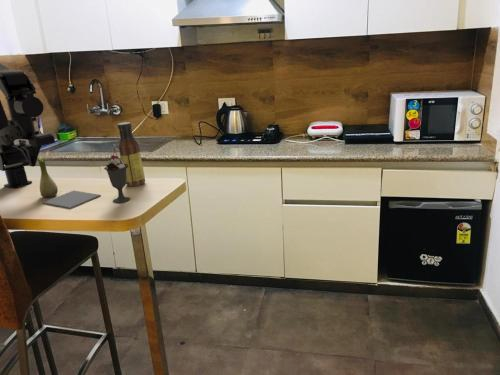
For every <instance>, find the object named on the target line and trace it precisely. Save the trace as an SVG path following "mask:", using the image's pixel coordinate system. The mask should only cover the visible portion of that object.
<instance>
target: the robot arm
mask: <svg viewBox="0 0 500 375" xmlns="http://www.w3.org/2000/svg"><path fill="white" fill-rule="evenodd" d="M0 91H1V92H2V94H3V95H4V96H5V98H4V99H5V100H6V104H7V108H8V112H9V117H10V119H9V118H8V116H7V114H6V111H5V108H4V106H3V102H2V101H1V99H0V171H2V172H4V173H5V176H6V178H5V179H6V181H7V183H5V184H3V187H6V188H11V189H17V188H19V187H23V186H26V185H29V184H30V185H31V184H32V183H33V180H28V176H27V172H26V169H25V167H26V166H30V167H36V165H37V162H38V159H39V158H38V157H39V154H40V152H41V149H42V147H43V146H47V145H51V144H55V143H56V137H55V135H54V134H52V133H47V132H43V133H40V131H39V130H36V127H35V123H34V122H37V117H40V116H41V115H42V113H43V112H44V109H45V108H44V104H43V101H42V100H40V98H38V97H36V96H34V95H36V94H37V91H36V87H35V85H34V83H33V82H32V81H31V79H30V77H29V76H28V75H27V74H26V73H25V72H24V71H23V70H21V69H10V68H8V67H7V66H5V65H4V64H2V63H0Z"/></svg>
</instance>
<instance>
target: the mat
mask: <svg viewBox="0 0 500 375" xmlns="http://www.w3.org/2000/svg"><path fill="white" fill-rule="evenodd" d="M101 196H102V195H101V194H97V193H91V192H85V191H79V190H72V191H71V190H70V191H69V192H66V193H64V194H62V195H58V196H56V197H53V198H51V199H48V200H45V201H43V202H42V204H43V205H48V206H52V207H53V206H54V207H60V208H64V209H70V210H71V209H74V208H76V207H79V206H80V205H83V204H86V203H88V202H90V201H93V200H95V199H98V198H100V197H101Z"/></svg>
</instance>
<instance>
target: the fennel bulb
mask: <svg viewBox="0 0 500 375" xmlns="http://www.w3.org/2000/svg"><path fill="white" fill-rule="evenodd" d="M37 162H38V164H39V167H40V173H41V174H40V181H39V192H40V196H41V197H42V198H45V199H46V198H52V197H54V196H56V195H57V194H58V185H57V184H56V183H55V181H54V179H53V178H52V177H51V176H50V174H49V173H48V171H47V165H46V161H45V157H40V158H38V159H37Z"/></svg>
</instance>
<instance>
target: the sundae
mask: <svg viewBox="0 0 500 375" xmlns="http://www.w3.org/2000/svg"><path fill="white" fill-rule="evenodd" d="M112 149H113V154H111V155H110V158H109V159H108V161H107V164H106V166H105V167H104V168H103V169H104V170H106V172H107V175H108V178H109V181H110V184H111V187H113V188H114V189H116V190H117V191H118V192H117V193H118V194H117V195H118V196H117V198H114V199H113V200H112V202H113V203H115V204H123V203H127V202H129V201H131V197H129V196H125V194H124V192H123V190H124V188H125V186H127V184H126V169H127V168H128V164H126V163H123V161H121V158H120V156H118V154H117V152H116V148H115V147H114V148H112ZM114 154H115V155H114Z"/></svg>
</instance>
